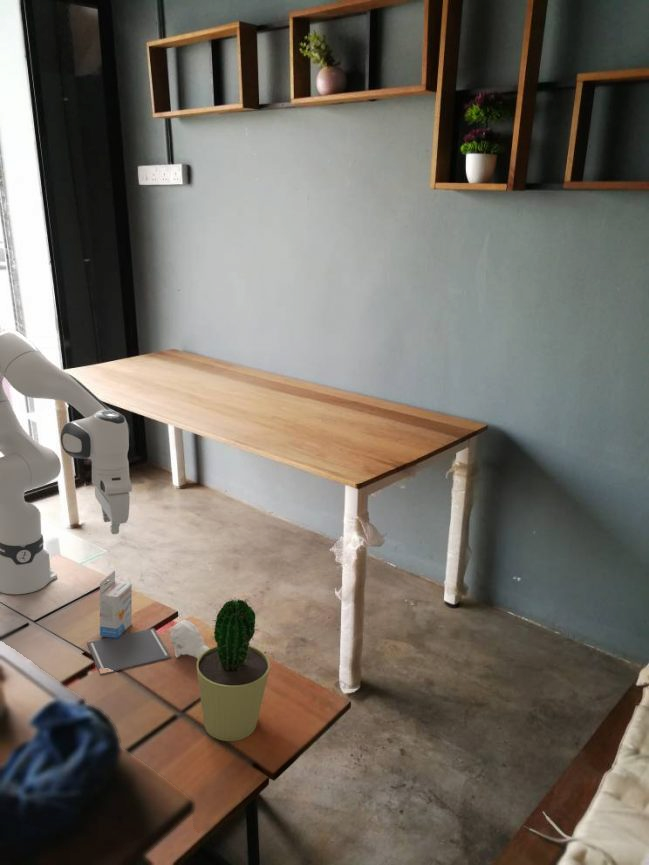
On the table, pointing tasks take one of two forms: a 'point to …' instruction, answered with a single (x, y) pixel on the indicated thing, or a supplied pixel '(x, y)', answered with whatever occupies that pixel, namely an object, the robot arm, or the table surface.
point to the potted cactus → (232, 675)
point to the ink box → (115, 607)
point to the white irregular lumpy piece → (187, 640)
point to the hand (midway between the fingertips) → (110, 526)
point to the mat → (128, 650)
